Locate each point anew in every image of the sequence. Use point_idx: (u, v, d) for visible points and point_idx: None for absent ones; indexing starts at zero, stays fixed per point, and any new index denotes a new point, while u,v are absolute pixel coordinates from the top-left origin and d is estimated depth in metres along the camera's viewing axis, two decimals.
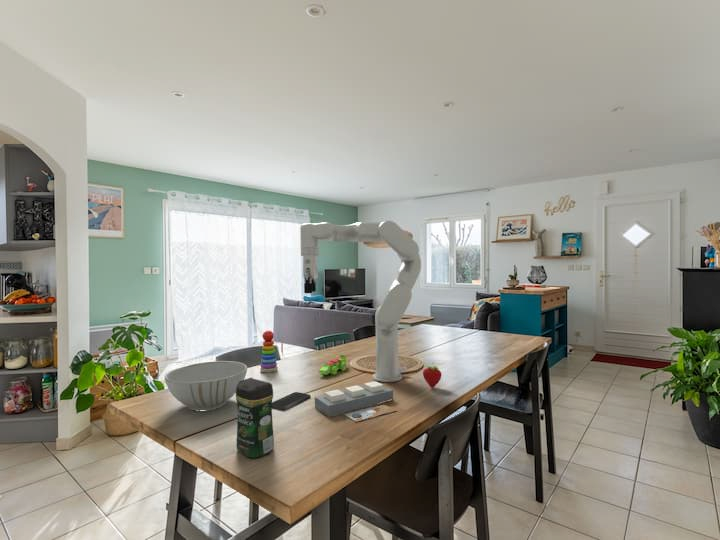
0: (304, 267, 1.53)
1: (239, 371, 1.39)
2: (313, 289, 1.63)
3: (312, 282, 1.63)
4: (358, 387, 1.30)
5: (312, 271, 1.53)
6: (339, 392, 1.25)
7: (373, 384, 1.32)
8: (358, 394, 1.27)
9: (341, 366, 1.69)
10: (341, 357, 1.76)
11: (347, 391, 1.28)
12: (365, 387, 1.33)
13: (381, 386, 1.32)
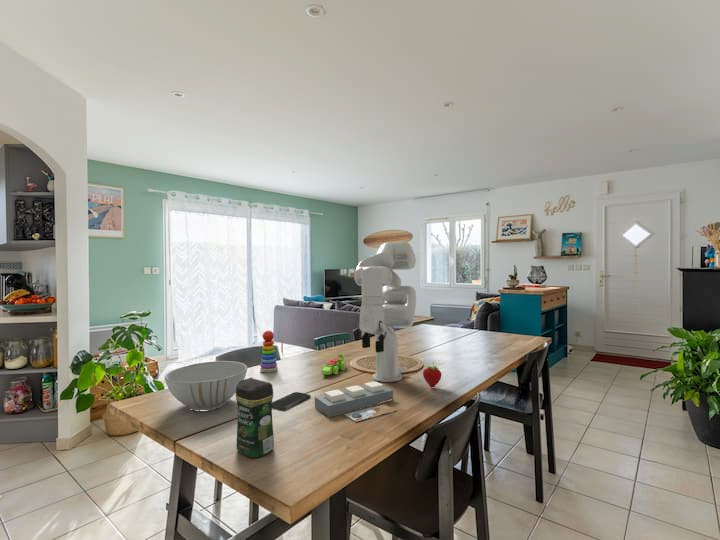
0: None
1: (239, 371, 1.39)
2: None
3: None
4: (358, 387, 1.30)
5: None
6: (339, 392, 1.25)
7: (373, 384, 1.32)
8: (358, 394, 1.27)
9: (341, 366, 1.70)
10: (339, 357, 1.77)
11: (347, 391, 1.28)
12: (365, 387, 1.33)
13: (381, 386, 1.32)
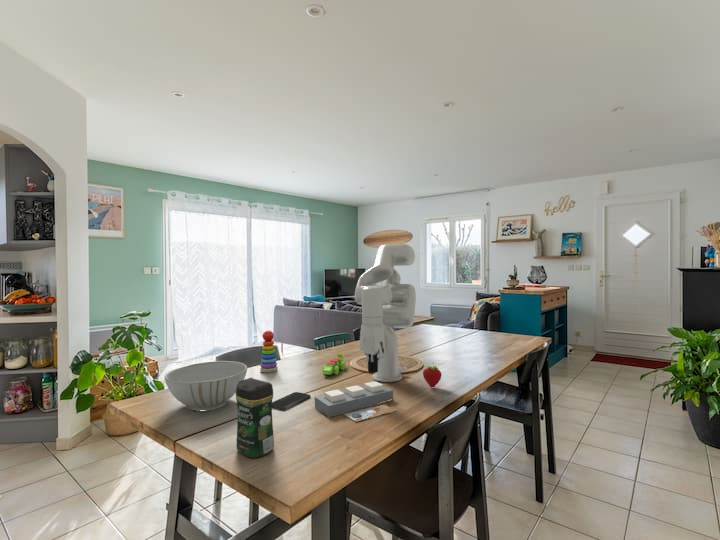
0: None
1: (239, 371, 1.39)
2: None
3: None
4: (358, 387, 1.30)
5: None
6: (339, 392, 1.25)
7: (373, 384, 1.32)
8: (358, 394, 1.27)
9: (341, 365, 1.70)
10: (338, 357, 1.77)
11: (347, 391, 1.28)
12: (365, 387, 1.33)
13: (381, 386, 1.32)
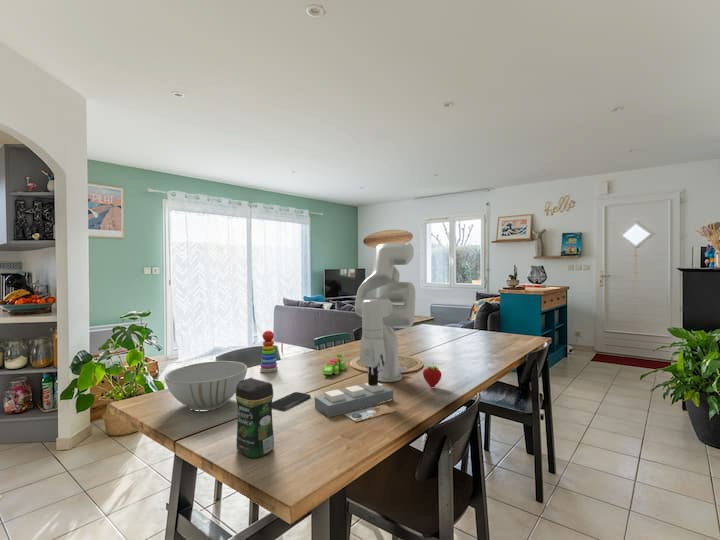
0: None
1: (239, 371, 1.39)
2: None
3: None
4: (358, 387, 1.30)
5: None
6: (339, 392, 1.25)
7: (373, 385, 1.32)
8: (358, 394, 1.27)
9: (341, 365, 1.70)
10: (338, 357, 1.77)
11: (347, 391, 1.28)
12: (365, 387, 1.33)
13: (381, 386, 1.32)
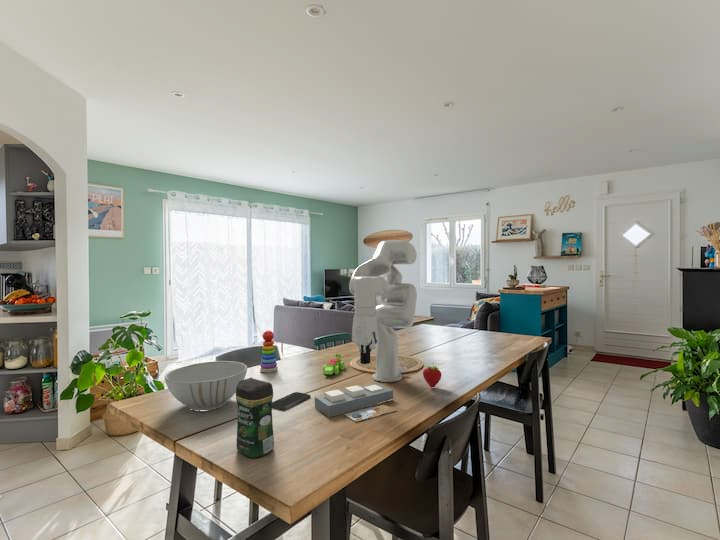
0: None
1: (239, 371, 1.39)
2: None
3: None
4: (358, 387, 1.30)
5: None
6: (339, 392, 1.25)
7: (373, 388, 1.32)
8: (358, 394, 1.27)
9: (341, 365, 1.71)
10: (337, 356, 1.77)
11: (347, 391, 1.28)
12: None
13: None
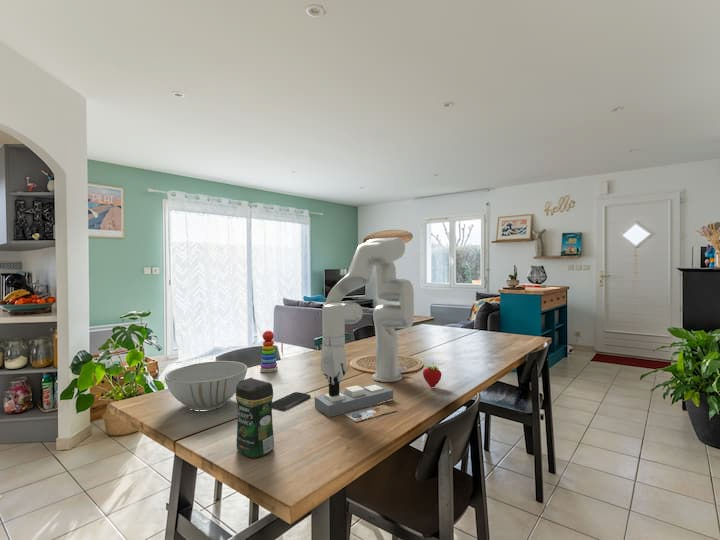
0: None
1: (239, 371, 1.39)
2: None
3: None
4: (358, 387, 1.30)
5: None
6: (339, 394, 1.25)
7: (373, 388, 1.32)
8: (358, 394, 1.27)
9: None
10: None
11: (347, 391, 1.28)
12: None
13: None
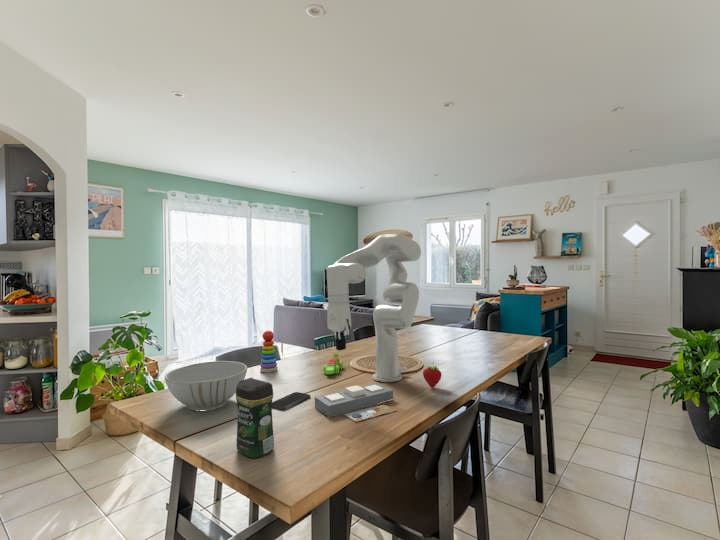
0: None
1: (239, 371, 1.39)
2: None
3: None
4: (358, 387, 1.30)
5: None
6: (339, 396, 1.25)
7: (373, 388, 1.32)
8: (358, 394, 1.27)
9: (340, 365, 1.72)
10: (335, 356, 1.78)
11: (347, 391, 1.28)
12: None
13: None
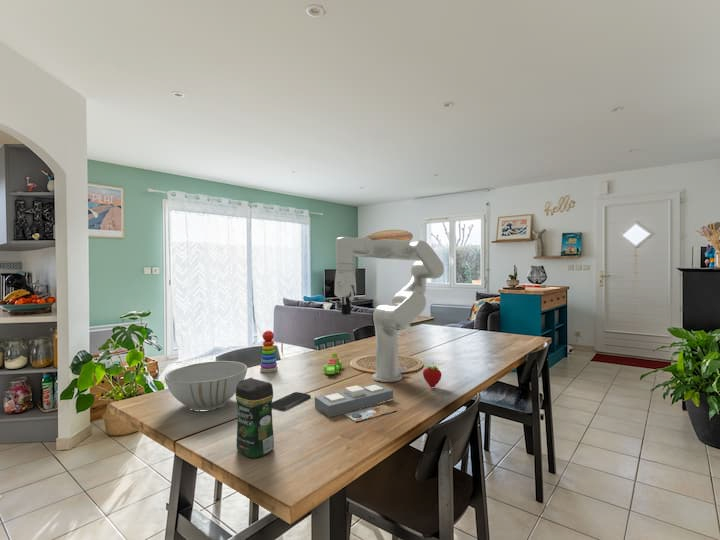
0: None
1: (239, 371, 1.39)
2: None
3: None
4: (358, 387, 1.30)
5: None
6: (339, 396, 1.25)
7: (373, 388, 1.32)
8: (358, 394, 1.27)
9: (339, 364, 1.72)
10: (334, 356, 1.78)
11: (347, 391, 1.28)
12: None
13: None
